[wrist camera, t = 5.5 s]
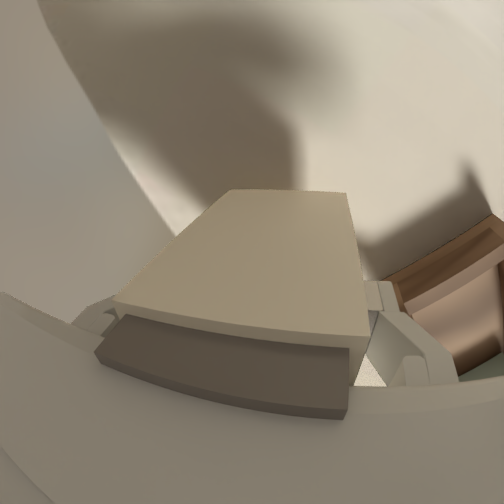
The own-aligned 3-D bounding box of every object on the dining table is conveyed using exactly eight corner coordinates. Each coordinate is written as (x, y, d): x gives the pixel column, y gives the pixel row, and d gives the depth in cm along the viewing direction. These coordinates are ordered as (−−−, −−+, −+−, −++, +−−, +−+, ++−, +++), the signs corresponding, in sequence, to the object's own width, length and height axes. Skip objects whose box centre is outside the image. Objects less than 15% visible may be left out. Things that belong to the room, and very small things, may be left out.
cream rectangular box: (230, 189, 12) (77, 336, 4) (345, 192, 11) (374, 399, 3) (239, 283, 14) (157, 443, 6) (336, 291, 13) (320, 480, 5)
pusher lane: (380, 281, 16) (395, 352, 10) (492, 213, 11) (546, 259, 6) (440, 419, 21) (445, 461, 16) (505, 386, 17) (516, 426, 12)
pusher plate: (441, 384, 17) (448, 417, 14) (502, 351, 14) (514, 381, 11) (442, 389, 17) (449, 421, 14) (502, 357, 14) (513, 387, 11)
